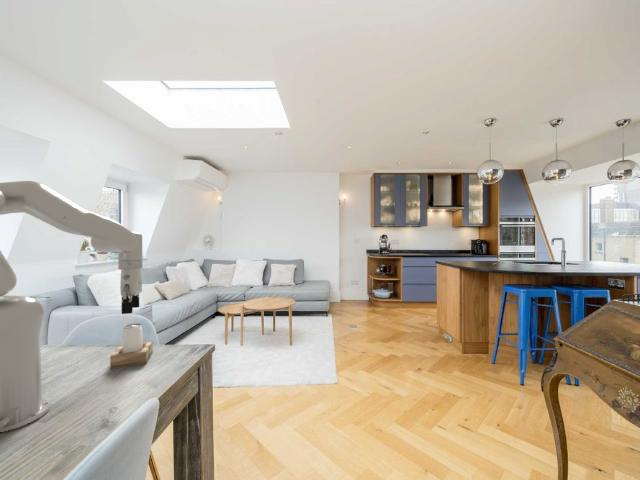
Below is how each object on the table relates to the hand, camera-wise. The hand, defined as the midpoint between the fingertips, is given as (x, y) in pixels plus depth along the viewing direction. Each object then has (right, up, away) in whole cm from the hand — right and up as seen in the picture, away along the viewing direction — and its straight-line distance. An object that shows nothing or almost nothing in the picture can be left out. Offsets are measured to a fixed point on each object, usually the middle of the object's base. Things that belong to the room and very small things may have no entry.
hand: (130, 310), depth 106 cm
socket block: (0, -19, +1) cm, 19 cm away
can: (0, -18, +1) cm, 18 cm away
